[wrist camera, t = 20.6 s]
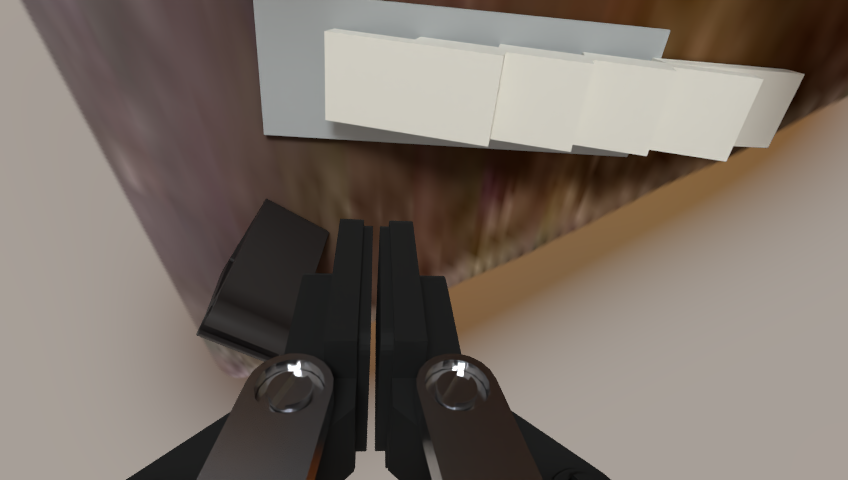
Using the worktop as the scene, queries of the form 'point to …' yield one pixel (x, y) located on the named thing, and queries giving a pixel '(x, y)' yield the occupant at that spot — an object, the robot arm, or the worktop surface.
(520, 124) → the domino
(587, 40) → the mat
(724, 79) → the domino
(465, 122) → the domino
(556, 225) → the worktop surface
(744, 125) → the domino
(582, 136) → the domino
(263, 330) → the phone stand
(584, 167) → the worktop surface
